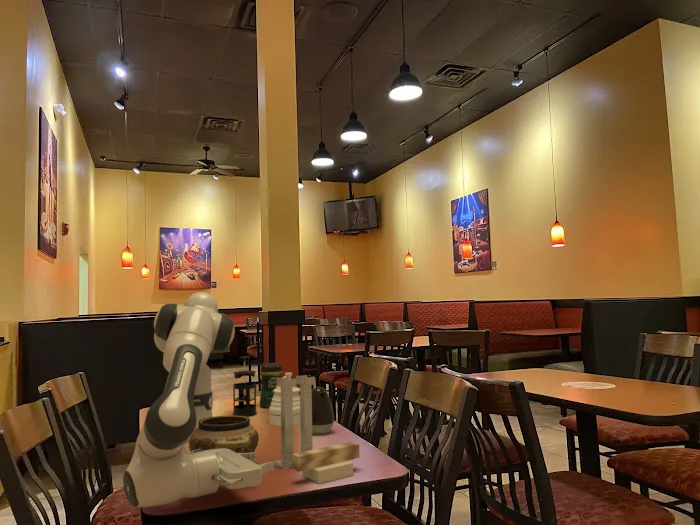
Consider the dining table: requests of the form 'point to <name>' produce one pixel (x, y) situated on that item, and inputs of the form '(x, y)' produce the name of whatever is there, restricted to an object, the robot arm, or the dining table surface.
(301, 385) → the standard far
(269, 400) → the coffee jar
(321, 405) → the black tapered rounded piece
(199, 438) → the ceramic bowl
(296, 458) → the rail
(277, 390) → the honey pot
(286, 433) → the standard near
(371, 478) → the dining table surface
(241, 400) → the french press
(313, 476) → the beige flat block
